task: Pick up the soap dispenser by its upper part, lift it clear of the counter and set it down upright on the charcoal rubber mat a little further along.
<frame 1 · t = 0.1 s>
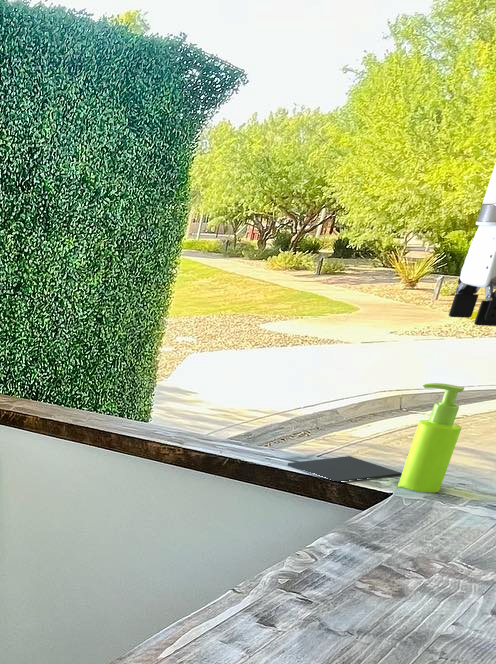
hand: (472, 321, 133), 30 cm above the countertop, tool pointing down, fingers open, 9 cm apart
soap dispenser: (412, 493, 141), on the countertop
mat: (343, 470, 152), on the countertop
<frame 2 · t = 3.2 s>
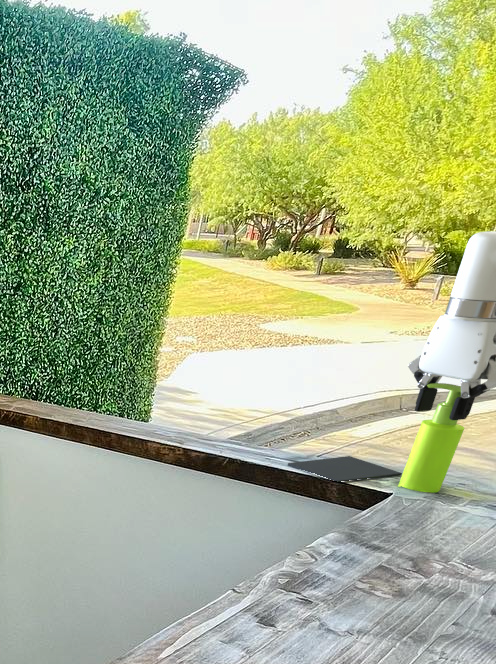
hand: (439, 413, 135), 15 cm above the countertop, tool pointing down, fingers closed on soap dispenser, 5 cm apart
soap dispenser: (412, 492, 140), on the countertop, touching gripper
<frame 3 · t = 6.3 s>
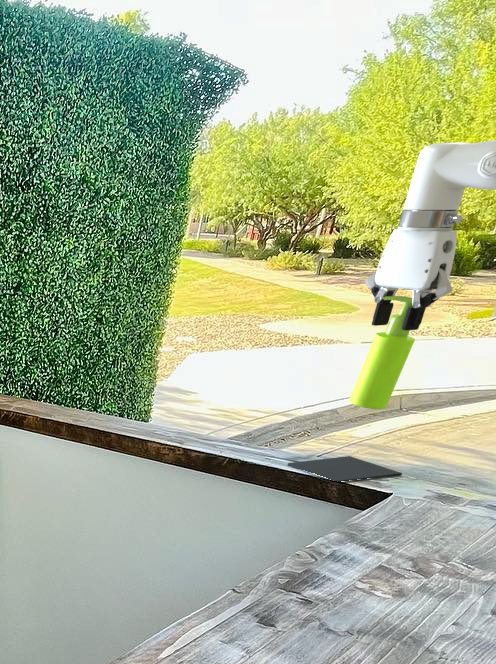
hand: (394, 326, 140), 28 cm above the countertop, tool pointing down, fingers closed on soap dispenser, 4 cm apart
soap dispenser: (363, 404, 146), point 14 cm above the countertop, touching gripper
when the fingers open (15 cm above the countertop, at t = 9.5 s): soap dispenser stays where it is, resting on mat.
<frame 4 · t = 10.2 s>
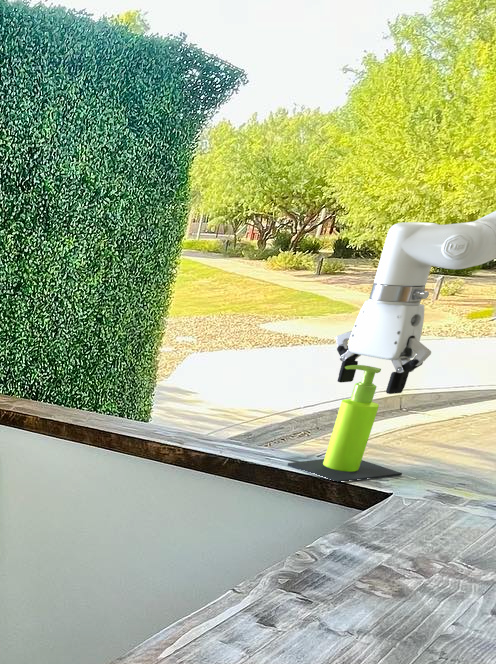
hand: (368, 387, 145), 17 cm above the countertop, tool pointing down, fingers open, 9 cm apart
soap dispenser: (337, 466, 153), resting on mat, touching gripper
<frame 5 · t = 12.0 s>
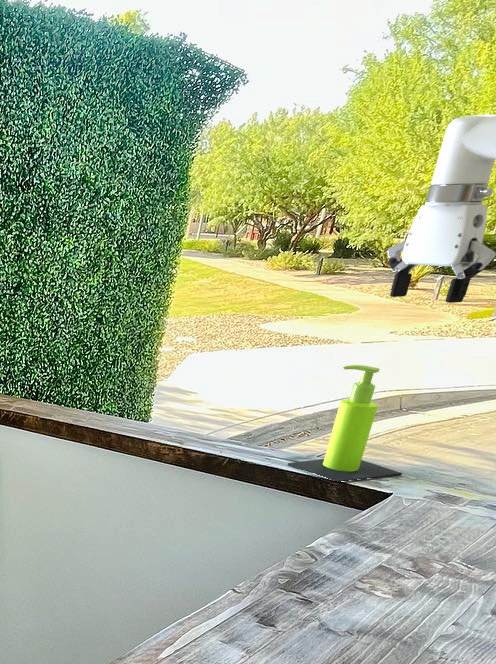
hand: (424, 299, 137), 33 cm above the countertop, tool pointing down, fingers open, 9 cm apart
soap dispenser: (337, 467, 153), resting on mat
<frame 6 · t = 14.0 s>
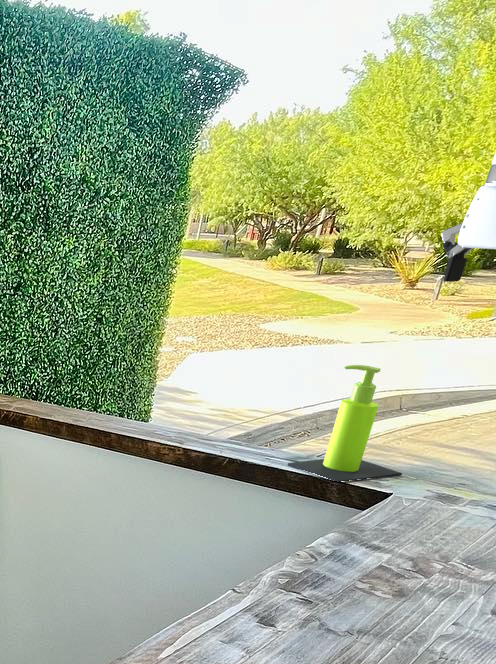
hand: (480, 284, 133), 36 cm above the countertop, tool pointing down, fingers open, 9 cm apart
nothing on the countertop moved.
at the end: soap dispenser inside the target area (1.3 cm from its centre), resting on mat; soap dispenser tilted 0°; the gripper is holding nothing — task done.
